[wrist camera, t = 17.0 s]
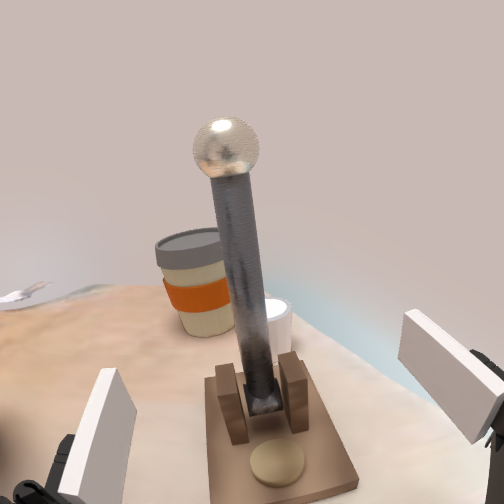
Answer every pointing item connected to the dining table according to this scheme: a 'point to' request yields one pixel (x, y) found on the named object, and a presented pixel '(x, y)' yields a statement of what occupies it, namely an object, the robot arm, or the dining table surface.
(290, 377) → the lever stand
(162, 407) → the dining table surface
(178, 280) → the reusable coffee cup
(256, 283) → the lever
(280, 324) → the white cylinder
